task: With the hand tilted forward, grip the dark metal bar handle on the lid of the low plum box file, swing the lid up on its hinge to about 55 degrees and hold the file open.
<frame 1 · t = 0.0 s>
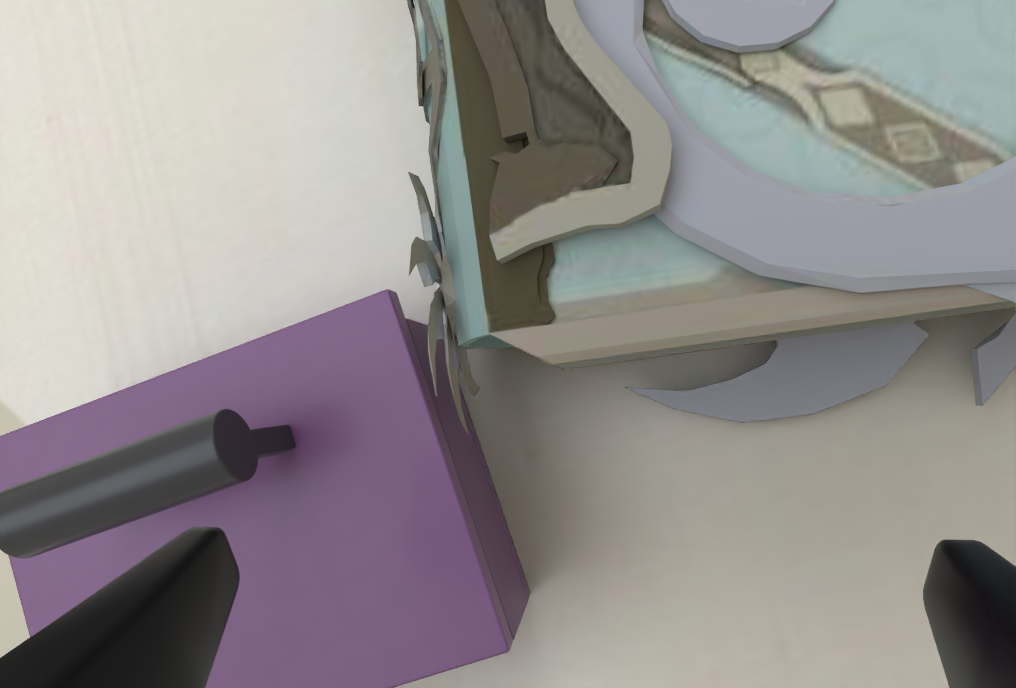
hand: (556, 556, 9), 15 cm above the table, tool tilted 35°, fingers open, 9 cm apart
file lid: (191, 556, 18), point 7 cm above the table, hinge at 0.0°
ornate book: (727, 14, 24), on the table
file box: (307, 519, 25), on the table
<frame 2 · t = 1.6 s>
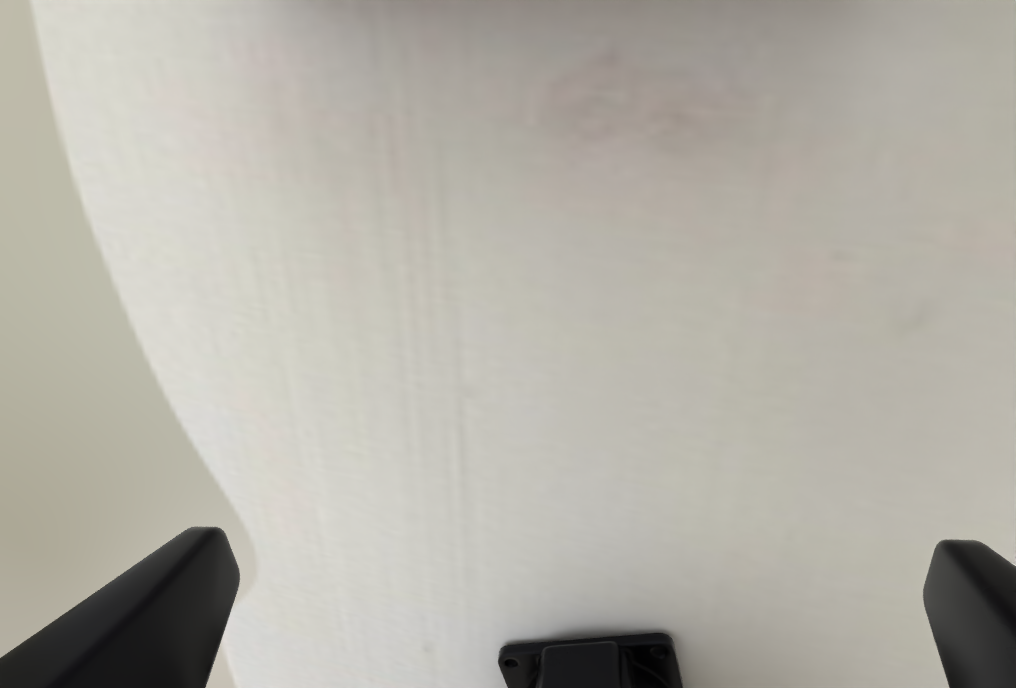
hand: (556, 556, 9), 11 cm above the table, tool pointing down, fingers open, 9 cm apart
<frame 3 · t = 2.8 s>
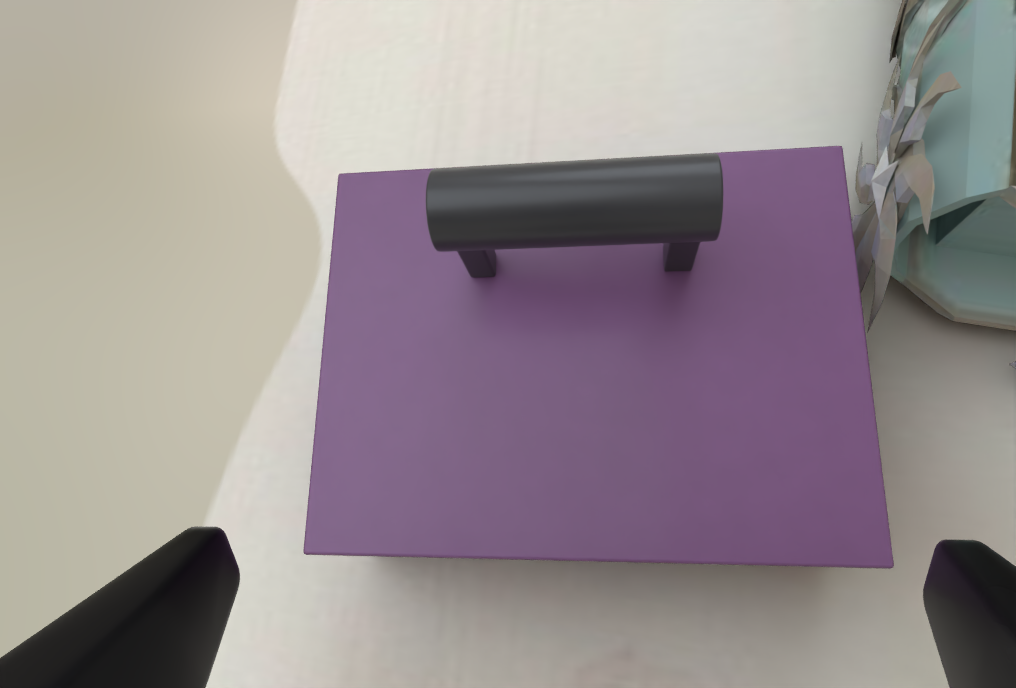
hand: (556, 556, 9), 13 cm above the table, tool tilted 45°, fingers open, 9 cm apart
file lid: (576, 324, 16), point 7 cm above the table, hinge at 0.0°
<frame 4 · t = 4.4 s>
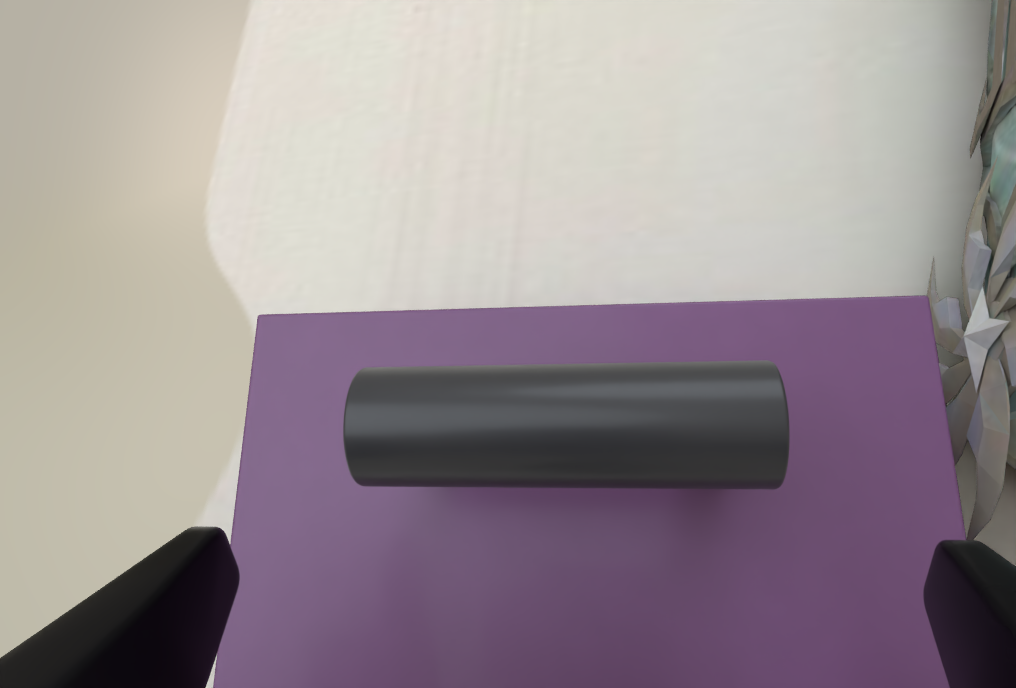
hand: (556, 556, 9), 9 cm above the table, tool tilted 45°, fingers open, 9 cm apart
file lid: (567, 578, 11), point 7 cm above the table, hinge at 0.0°
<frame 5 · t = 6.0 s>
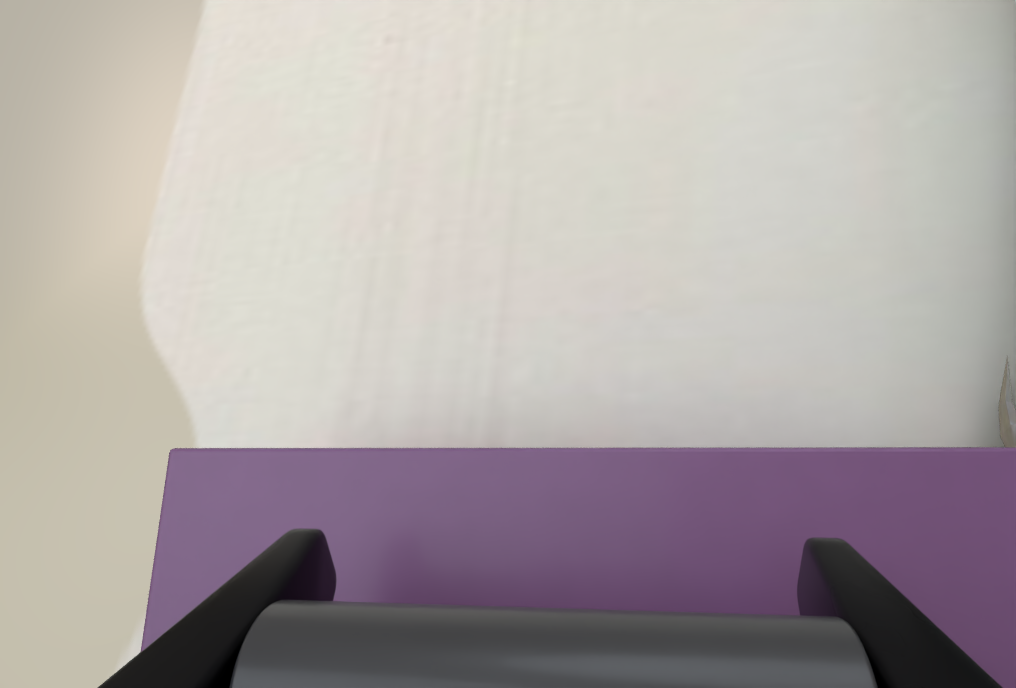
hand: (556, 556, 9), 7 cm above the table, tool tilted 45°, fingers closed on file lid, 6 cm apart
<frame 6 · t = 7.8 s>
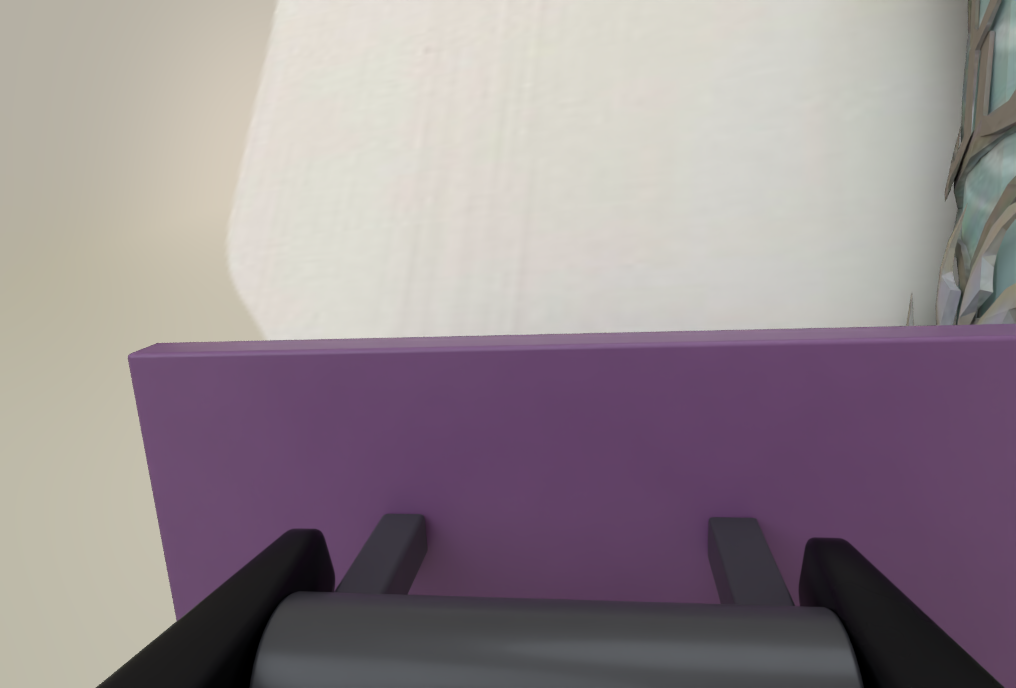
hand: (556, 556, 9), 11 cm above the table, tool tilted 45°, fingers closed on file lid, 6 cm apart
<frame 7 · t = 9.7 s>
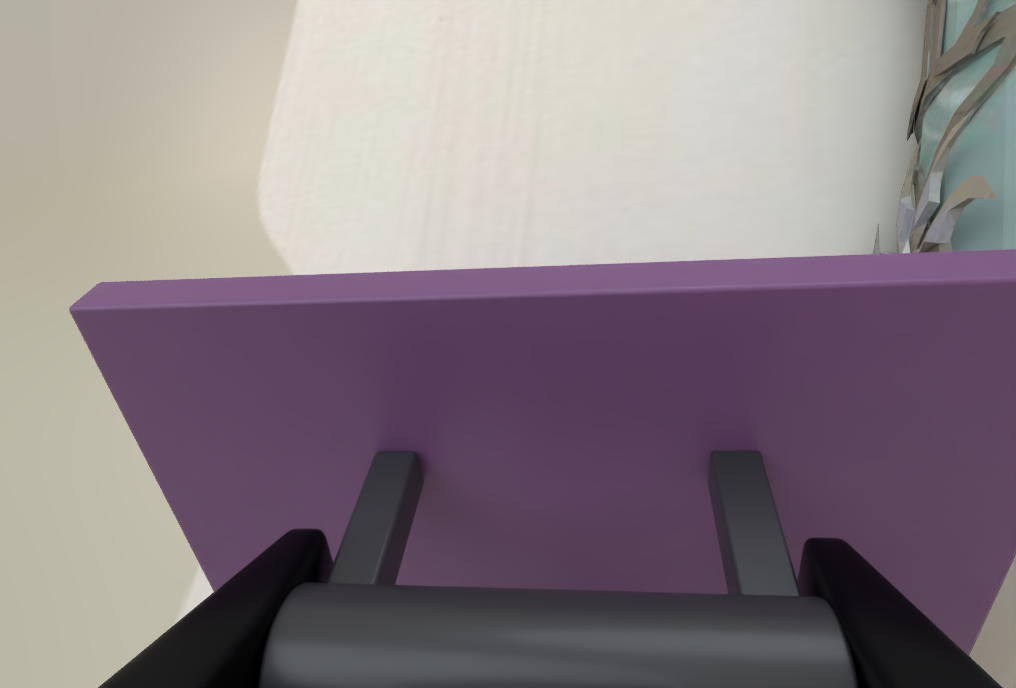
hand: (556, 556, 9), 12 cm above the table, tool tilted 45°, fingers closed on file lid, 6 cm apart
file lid: (564, 656, 10), point 10 cm above the table, hinge at 50.7°, touching gripper
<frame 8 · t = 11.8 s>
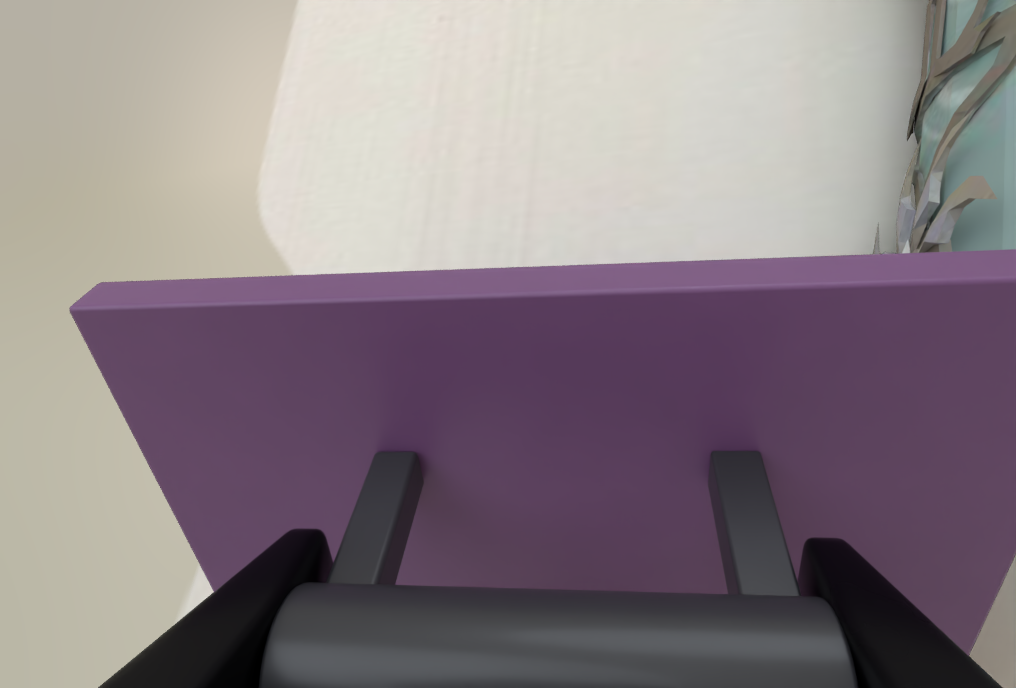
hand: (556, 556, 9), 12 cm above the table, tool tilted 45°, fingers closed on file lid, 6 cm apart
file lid: (564, 656, 10), point 10 cm above the table, hinge at 50.7°, touching gripper
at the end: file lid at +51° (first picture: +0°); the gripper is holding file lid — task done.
